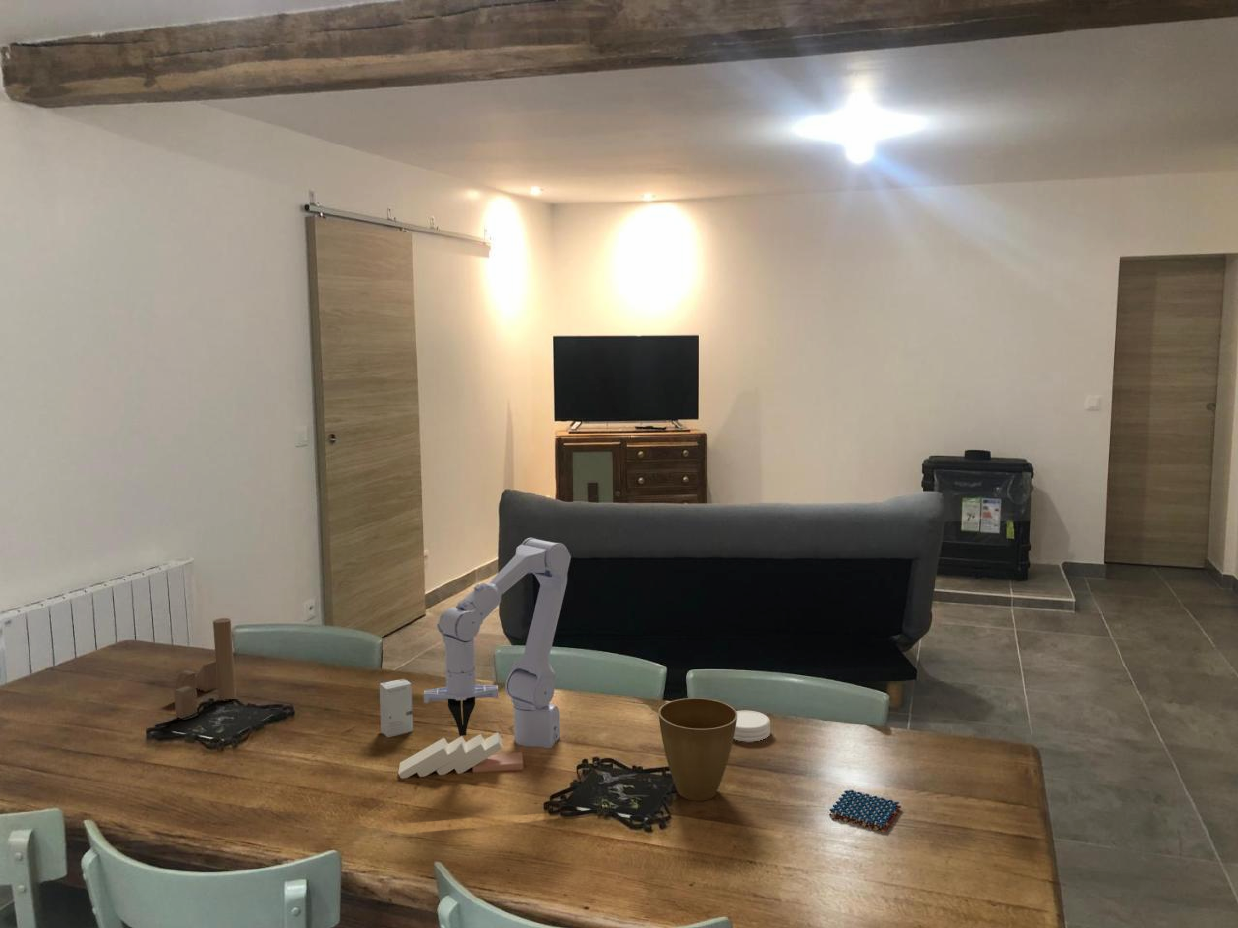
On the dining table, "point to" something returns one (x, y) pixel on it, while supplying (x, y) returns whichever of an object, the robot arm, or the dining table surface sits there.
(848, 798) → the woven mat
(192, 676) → the wooden blocks
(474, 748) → the domino
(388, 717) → the skincare box
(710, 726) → the plant pot
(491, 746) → the domino
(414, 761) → the domino
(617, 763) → the dining table surface
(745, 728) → the white round disc
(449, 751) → the domino
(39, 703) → the dining table surface
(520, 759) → the end domino
